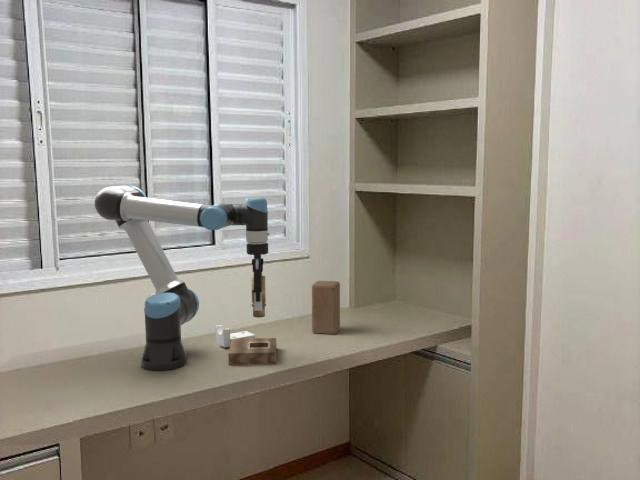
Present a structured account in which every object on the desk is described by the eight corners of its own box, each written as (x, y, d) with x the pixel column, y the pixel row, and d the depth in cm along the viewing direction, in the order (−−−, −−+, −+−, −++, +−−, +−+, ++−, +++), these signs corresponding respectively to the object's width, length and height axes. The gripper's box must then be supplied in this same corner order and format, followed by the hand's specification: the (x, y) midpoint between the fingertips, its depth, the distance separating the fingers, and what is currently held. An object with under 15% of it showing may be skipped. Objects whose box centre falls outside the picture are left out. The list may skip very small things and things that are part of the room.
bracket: (224, 349, 230) (223, 329, 229) (216, 345, 236) (215, 325, 235) (255, 344, 237) (255, 324, 236) (246, 339, 243) (246, 320, 242)
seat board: (228, 364, 211) (228, 353, 211) (232, 349, 229) (232, 338, 229) (275, 363, 212) (275, 352, 212) (276, 348, 230) (276, 337, 230)
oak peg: (251, 317, 216) (250, 278, 215) (252, 314, 221) (251, 275, 220) (266, 317, 217) (265, 277, 215) (266, 314, 222) (265, 275, 220)
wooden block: (336, 334, 248) (335, 285, 246) (311, 333, 250) (311, 284, 248) (340, 328, 258) (340, 280, 256) (316, 327, 260) (316, 280, 258)
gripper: (267, 245, 207) (268, 314, 210) (268, 239, 225) (269, 302, 228) (244, 246, 207) (246, 314, 210) (247, 239, 225) (249, 303, 227)
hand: (258, 308), depth 219 cm, fingers closed on oak peg, 5 cm apart
